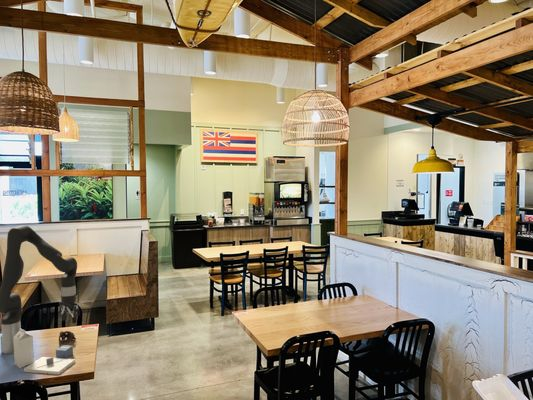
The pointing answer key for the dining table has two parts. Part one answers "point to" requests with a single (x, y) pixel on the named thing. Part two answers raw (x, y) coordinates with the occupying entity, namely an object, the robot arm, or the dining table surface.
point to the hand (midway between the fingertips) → (69, 321)
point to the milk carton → (23, 348)
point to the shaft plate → (49, 365)
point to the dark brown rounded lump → (69, 336)
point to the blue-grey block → (64, 351)
